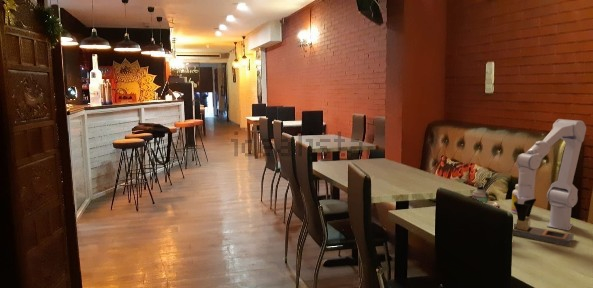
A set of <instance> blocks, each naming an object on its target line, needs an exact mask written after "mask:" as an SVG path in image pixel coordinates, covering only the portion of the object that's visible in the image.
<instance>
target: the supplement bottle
mask: <svg viewBox="0 0 593 288" xmlns="http://www.w3.org/2000/svg"><path fill="white" fill-rule="evenodd" d="M514 188H515V189H513V190H512V192H511V193H512V194H511V204H510V205H511V208H510V211H511V213H512V214H516V215H517V210H516V208H515V206H514V202H515V201H516V202H518V198H517V196H514V194H518V183H516V184H515V186H514Z"/></svg>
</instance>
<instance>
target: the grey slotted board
mask: <svg viewBox="0 0 593 288" xmlns="http://www.w3.org/2000/svg"><path fill="white" fill-rule="evenodd" d="M516 228H517V223H514V229H513V235H512V236H516V237H520V238H526V239H531V240H535V241H541V242H546V243H551V244H556V245H561V246H565V247H566V246H567V247H570V246H571V244H573V241H574V238H575V237H574V236H575V235H574V234H572V233H568V232H567V233H566V232H561V231H556V230H550V229H546V228H545V229H544V228H540V227H534V226H530V232H528V231H522V230H517V229H516Z"/></svg>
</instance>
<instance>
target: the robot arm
mask: <svg viewBox="0 0 593 288" xmlns="http://www.w3.org/2000/svg"><path fill="white" fill-rule="evenodd" d="M586 131H587V126H586V124H585V122H584V121H583V120H577V119H575V120H574V119H573V120H572V119H563V118H558V119H556V120H555V122H553V124H552V128H551V130H550V132H549V133H548V134H547V135H546V136H545V137H544V138H543V140H537V141H536V142H535V143H534V144H533V145H532V146H531V147H530V148H529V149H528V150H527V151H526V152H524V153H523V152H522V153H519V155H517V158H516V161H515V162H516V165H517V171H518V183H517V184H518V194H514V196H517V198H518V202H516V201H515V202H514V206H515V208H516V210H517V214H516V215H517V219H518V220H519V221H525V218H529V217H530V216H531V213H532V210H533V207H534V204H535V203H536V201H537V198H535V186H536V174H537V169H538V168H540V166H541V163H542V161H543V159H544V158H545V156H547V154H549V152H550V151H551V147H552V146H553V145H554V144H555V143H556V142H558V140H560V139H561V140H563V142H564V143H565V147H564V151H563V156H562V159H561V164H560V167H559V172H558V176H557V180H556V181H554V182H552V183H551V184H550V187H549V188H548V191H547V192H546V198H547V199H546V200H547V201H548V202H549V205H550V213H549V223H547V224H546V227H549V228H552V229H553V228H554V229H560V230H564V231H570V230H571V228H572V226H574V224H573V223H571V219H572V218H571V216H572V208H574V206H576V205H577V203H578V200H579V199H578V198H579V197H578V191H579V189H578V188H577V187H576V186H575V185H574V184H573V182H574V176H575V173H576V170H577V169H576V168H577V164H578V160H579V155H580V151H581V147H582V143H583V142H584V141H585V140H584V139H585V136H586Z"/></svg>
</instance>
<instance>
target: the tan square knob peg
mask: <svg viewBox="0 0 593 288" xmlns="http://www.w3.org/2000/svg"><path fill="white" fill-rule="evenodd" d="M531 221H532V219H531V218H529V217H526V218H525V221H519V220H518V218H517V219H516V224H517V228H516V229H517V230H522V231H528V232H530V227H531Z"/></svg>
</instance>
